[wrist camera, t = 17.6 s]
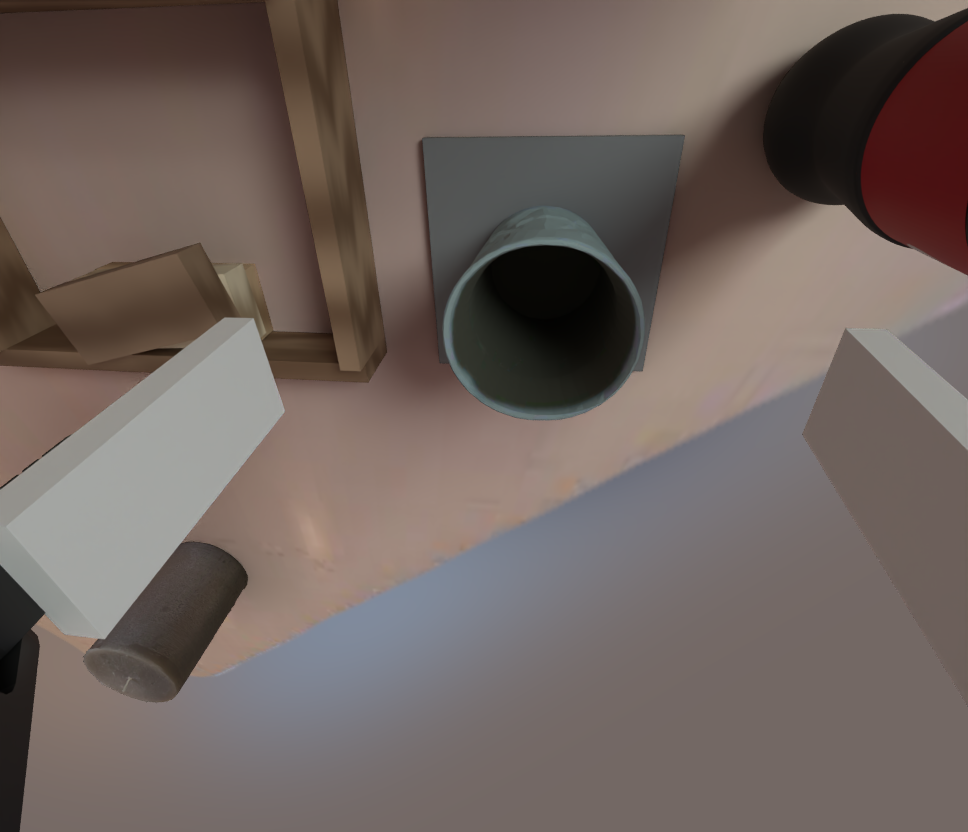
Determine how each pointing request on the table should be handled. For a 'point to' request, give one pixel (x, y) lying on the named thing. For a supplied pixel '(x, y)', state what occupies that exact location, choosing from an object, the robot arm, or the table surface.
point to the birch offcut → (237, 290)
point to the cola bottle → (882, 130)
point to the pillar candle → (169, 624)
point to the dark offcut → (140, 305)
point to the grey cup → (543, 318)
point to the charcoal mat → (551, 199)
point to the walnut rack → (329, 198)
